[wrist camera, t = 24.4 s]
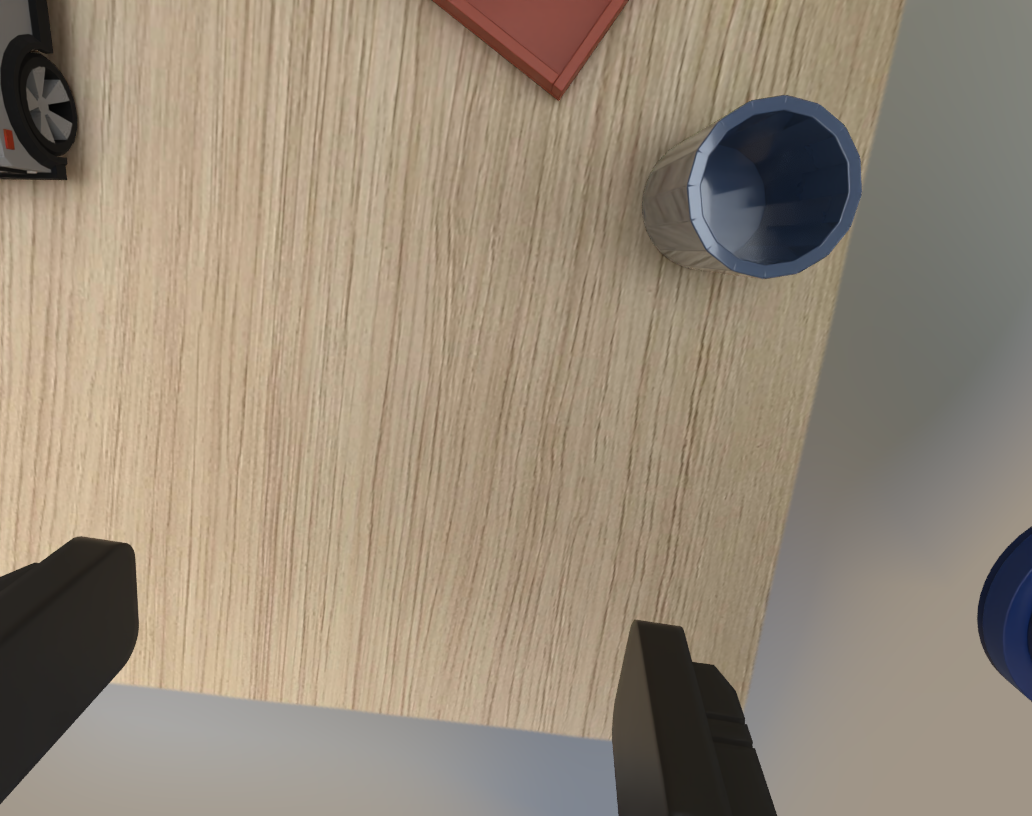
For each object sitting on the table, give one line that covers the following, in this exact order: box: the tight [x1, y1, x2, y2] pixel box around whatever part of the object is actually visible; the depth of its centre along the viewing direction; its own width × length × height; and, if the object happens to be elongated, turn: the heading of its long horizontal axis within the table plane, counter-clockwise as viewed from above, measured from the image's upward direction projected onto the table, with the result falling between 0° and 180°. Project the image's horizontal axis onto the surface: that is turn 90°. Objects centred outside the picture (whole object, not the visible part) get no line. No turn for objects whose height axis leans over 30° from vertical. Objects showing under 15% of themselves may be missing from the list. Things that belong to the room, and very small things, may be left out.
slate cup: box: [642, 95, 862, 279], centre depth 29 cm, size 6×6×9 cm
